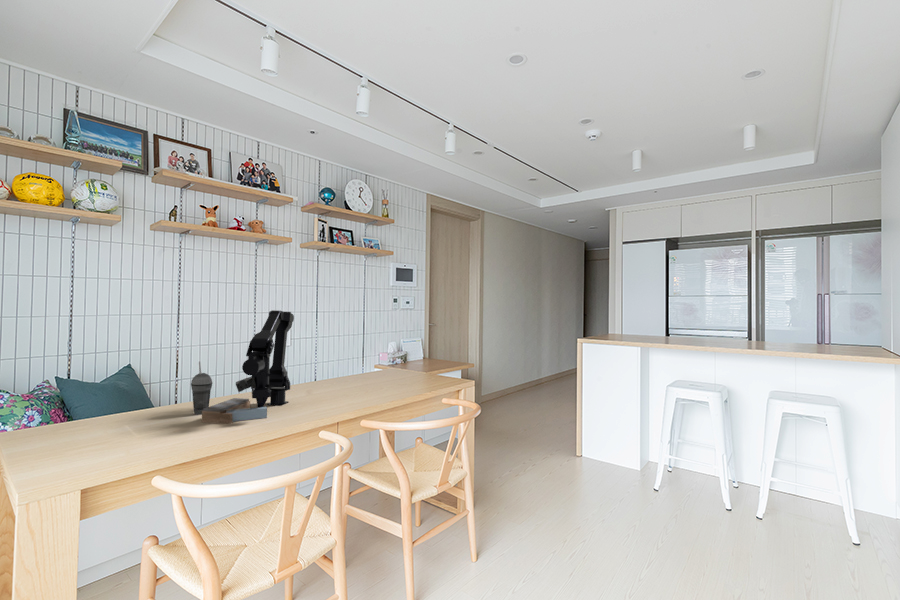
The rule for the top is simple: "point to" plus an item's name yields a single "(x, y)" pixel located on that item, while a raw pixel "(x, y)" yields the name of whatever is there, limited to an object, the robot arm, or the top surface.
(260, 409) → the bar
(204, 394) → the beverage cup
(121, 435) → the top surface
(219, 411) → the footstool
